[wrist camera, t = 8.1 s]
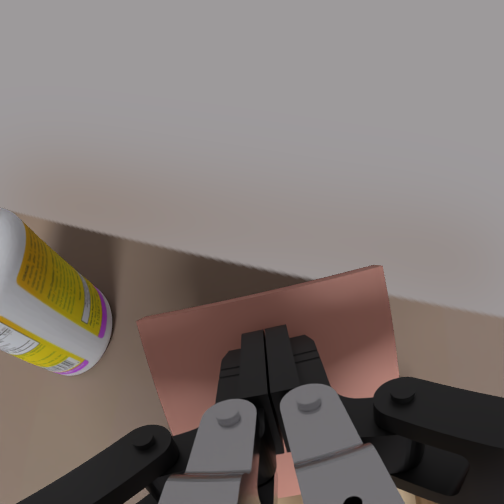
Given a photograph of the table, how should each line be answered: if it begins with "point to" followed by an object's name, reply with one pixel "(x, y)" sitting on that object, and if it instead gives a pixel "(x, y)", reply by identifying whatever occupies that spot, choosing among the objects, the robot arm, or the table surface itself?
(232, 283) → the table surface
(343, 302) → the panel
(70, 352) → the supplement bottle
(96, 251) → the table surface
